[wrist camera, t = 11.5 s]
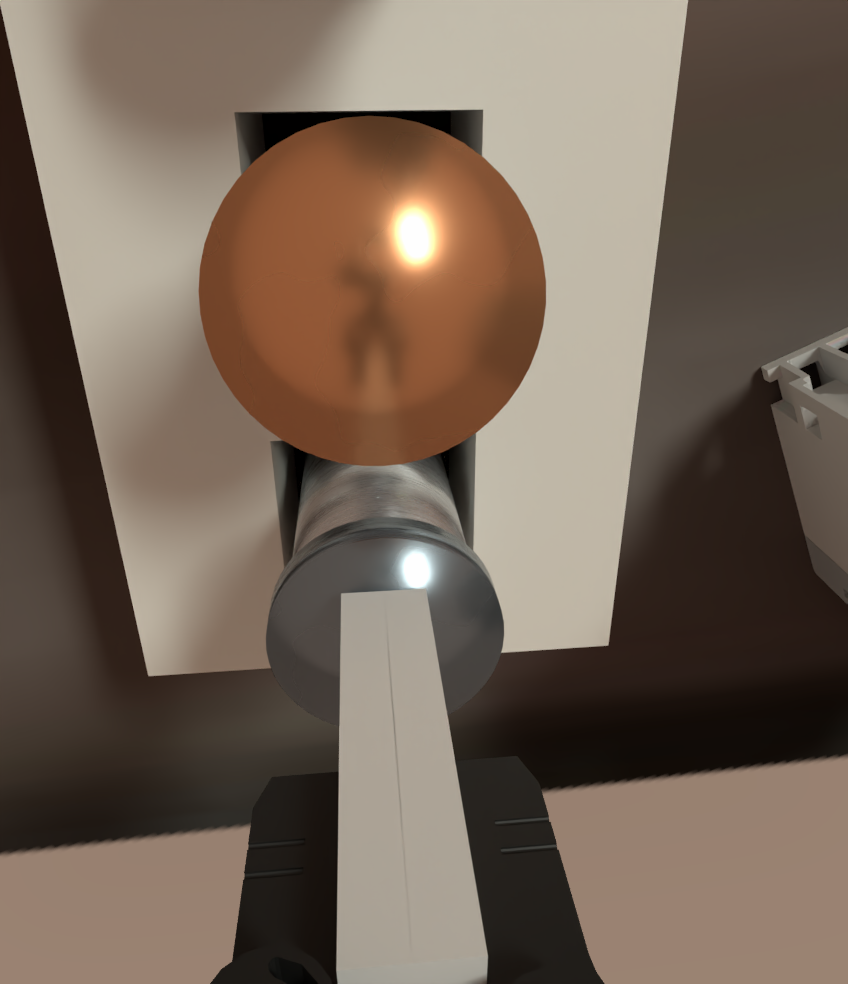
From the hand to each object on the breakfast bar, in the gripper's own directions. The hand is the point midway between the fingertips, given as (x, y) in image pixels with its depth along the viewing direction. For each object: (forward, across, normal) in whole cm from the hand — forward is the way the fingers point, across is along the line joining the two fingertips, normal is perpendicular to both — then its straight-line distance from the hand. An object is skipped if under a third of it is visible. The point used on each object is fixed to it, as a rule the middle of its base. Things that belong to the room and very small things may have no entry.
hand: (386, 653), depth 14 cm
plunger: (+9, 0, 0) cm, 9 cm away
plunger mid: (+7, 0, +7) cm, 10 cm away
